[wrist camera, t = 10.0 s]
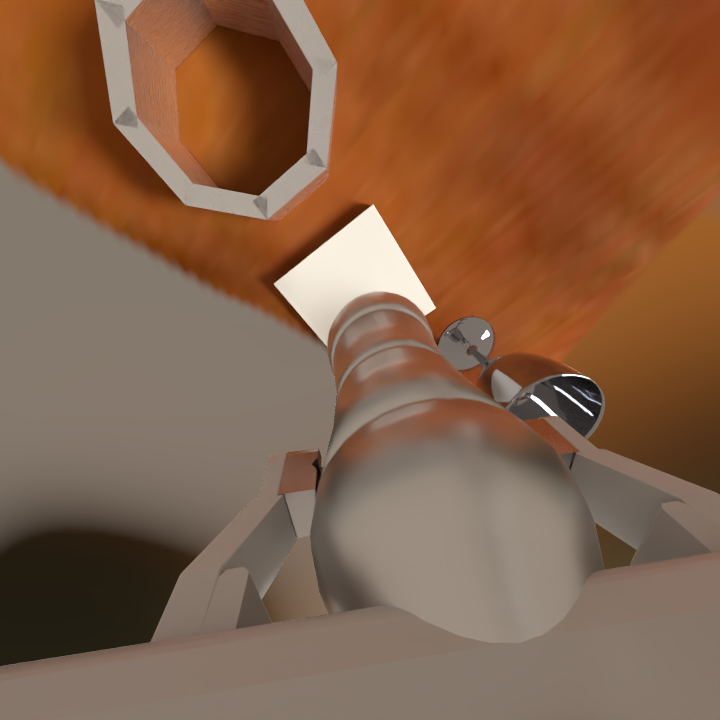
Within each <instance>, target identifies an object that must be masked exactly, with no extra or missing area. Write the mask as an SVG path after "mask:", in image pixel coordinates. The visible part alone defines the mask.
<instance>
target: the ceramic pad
mask: <svg viewBox="0 0 720 720" xmlns="http://www.w3.org/2000/svg"><path fill="white" fill-rule="evenodd" d="M274 285H275V286H276V287H277V289H278V290H279V291H280V292H281V293H282V294H283V296H284V297H285V298H286V299H287V300H288V302H289V303H290V304H291V305H292V306H293V307H294V309H295V310H296V311H297V312H298V313H299V314H300V316H301V317H302V318H303V319H304V320H305V322H306V323H307V324H308V325H309V326H310V327H311V329H312V330H313V331H314V332H315V333H316V334H317V336H318V337H319V338H320V339H321V340H322V341H323V343H324V344H325V345H326V346H327V341H328V335H329V331H330V328H331V326H332V323H333V321H334V320H335V318H336V317H337V315H338V313H339V312H340V311H341V309H342V308H343V307H344V306H345V305H346V304H347V303H348V302H350V301H351V300H353V299H354V298H355V297H357V296H360V295H362V294H364V293H369V292H373V291H385V292H390V293H394V294H399V295H401V296H403V297H405V298H407V299H409V300H410V301H411V302H413V303H414V304H416V305H417V307H418V308H419V309H420V310H421V311H422V312H423V314H424V316H425V315H426V314H428V313H429V312H431V311H432V310H434V309H435V308H436V307H435V306H434V304H433V302H432V301H431V299H430V297H429V296H428V294H427V292H426V291H425V289H424V287H423V286H422V284H421V282H420V281H419V279H418V277H417V276H416V274H415V272H414V271H413V269H412V268H411V266H410V264H409V263H408V261H407V259H406V258H405V256H404V254H403V253H402V251H401V249H400V248H399V246H398V244H397V243H396V241H395V239H394V238H393V236H392V234H391V233H390V231H389V229H388V228H387V226H386V224H385V223H384V221H383V220H382V218H381V216H380V215H379V213H378V211H377V210H376V208H375V206H374V205H371V206H370V207H369V208H367V209H366V210H365V211H364V212H362V213H361V214H360V215H359V216H357V217H356V218H355V219H354V220H352V221H351V222H350V223H349V224H347V225H346V226H345V227H344V228H342V229H341V230H340V231H339V232H337V233H336V234H335V235H334V236H332V237H331V238H330V239H329V240H327V241H326V242H325V243H324V244H322V245H321V246H320V247H319V248H317V249H316V250H315V251H314V252H312V253H311V254H310V255H309V256H307V257H306V258H305V259H304V260H302V261H301V262H300V263H299V264H297V265H296V266H295V267H294V268H292V269H291V270H290V271H289V272H287V273H286V274H285V275H284V276H282V277H281V278H280V279H279V280H277V281H276V282H275V283H274Z"/></svg>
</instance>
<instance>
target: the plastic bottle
mask: <svg viewBox="0 0 720 720" xmlns="http://www.w3.org/2000/svg"><path fill="white" fill-rule="evenodd" d="M327 347H328V356H329V360H330V364H331V368H332V372H333V374H334V376H335V383H336V390H337V396H336V406H335V415H334V425H333V430H332V434H331V438H330V441H329V445H328V450H327V454H326V457H325V462H324V465H323V469H322V474H321V478H320V481H319V484H318V489H317V494H316V499H315V505H314V512H313V518H312V524H311V530H310V538H311V551H312V556H313V562H314V567H315V572H316V577H317V583H318V588H319V593H320V595H321V597H322V600H323V603H324V605H325V608H326V610H327V612H328V614H332V613H338V612H345V611H351V610H357V609H363V608H370V607H376V606H390V607H396V608H400V609H403V610H406V611H408V612H410V613H412V614H414V615H416V616H417V617H419V618H420V619H422V620H424V621H426V622H428V623H430V624H433V625H435V626H437V627H440V628H442V629H444V630H447V631H449V632H451V633H454V634H456V635H458V636H462V637H466V638H471V639H475V640H480V641H484V642H488V643H521V642H524V641H526V640H529V639H531V638H535V637H538V636H541V635H543V634H545V633H546V632H547V631H549V630H550V629H551V628H553V627H554V626H555V625H557V624H558V623H559V622H561V621H562V620H563V619H564V618H565V616H566V615H567V613H568V612H569V610H570V609H571V608H572V606H573V605H574V603H575V602H576V600H577V599H578V597H579V596H580V593H581V590H582V588H583V585H584V583H585V582H586V580H587V579H588V578H589V577H590V576H591V575H592V573H594V572H595V571H600V570H605V569H604V565H603V560H602V555H601V550H600V546H599V541H598V537H597V532H596V527H595V522H594V519H593V517H592V514H591V512H590V509H589V507H588V504H587V502H586V500H585V498H584V496H583V495H582V493H581V491H580V489H579V487H578V485H577V483H576V481H575V479H574V477H573V475H572V473H571V471H570V469H569V467H568V465H567V463H566V462H565V461H564V460H563V459H562V457H561V456H560V455H559V454H558V453H557V451H556V450H555V449H554V448H553V447H552V446H551V445H550V444H549V443H548V442H546V441H545V440H544V439H543V438H542V437H541V436H540V435H538V434H537V433H536V432H535V431H534V430H533V429H532V428H531V427H530V426H529V425H528V424H526V423H525V422H523V421H522V420H521V419H519V418H518V417H517V416H515V415H514V414H513V413H511V412H510V411H509V410H507V409H506V408H505V407H503V406H502V405H501V404H499V403H498V402H497V401H495V400H494V399H493V398H491V397H490V396H489V395H487V394H486V393H485V392H483V391H482V390H481V389H479V388H478V387H477V386H475V385H474V384H473V383H471V382H470V381H469V380H467V379H466V378H465V377H464V376H463V375H462V374H461V373H460V372H459V371H458V370H457V369H456V368H455V367H454V366H453V365H452V364H451V363H450V362H449V361H448V360H447V359H446V358H445V357H444V356H443V355H442V353H441V351H440V350H439V348H438V346H437V344H436V343H435V341H434V338H433V335H432V331H431V328H430V326H429V324H428V322H427V320H426V318H425V316H424V314H423V312H422V311H421V310H420V309H419V308H418V307H417V305H416V304H414V303H413V302H411V301H410V300H409V299H407V298H405V297H403V296H401V295H399V294H394V293H390V292H385V291H373V292H369V293H364V294H362V295H360V296H357V297H355V298H354V299H353V300H351V301H350V302H348V303H347V304H346V305H345V306H344V307H343V308H342V309H341V311H340V312H339V313H338V315H337V317H336V318H335V320H334V321H333V323H332V326H331V328H330V331H329V335H328V341H327Z"/></svg>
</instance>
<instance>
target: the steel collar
mask: <svg viewBox="0 0 720 720" xmlns="http://www.w3.org/2000/svg"><path fill="white" fill-rule="evenodd" d="M95 7H96V13H97V20H98V27H99V33H100V40H101V46H102V53H103V60H104V66H105V73H106V80H107V86H108V93H109V99H110V106H111V113H112V119H113V124H114V125H115V126H116V127H117V128H118V129H119V130H120V132H121V133H122V134H123V135H124V136H125V137H126V138H127V140H128V141H129V142H130V143H131V144H132V145H133V146H134V147H135V149H136V150H137V151H138V152H139V153H140V154H141V155H142V157H143V158H144V159H145V160H146V161H147V162H148V163H149V164H150V166H151V167H152V168H153V169H154V170H155V171H156V172H157V174H158V175H159V176H160V177H161V178H162V179H163V180H164V181H165V183H166V184H167V185H168V186H169V187H170V188H171V189H172V191H173V192H174V193H175V194H176V195H177V196H178V197H179V198H180V200H181V201H182V202H183V203H184V204H185V205H187V206H193V207H198V208H204V209H210V210H215V211H221V212H226V213H232V214H237V215H243V216H249V217H254V218H260V219H265V220H277V221H280V220H281V219H282V218H284V217H285V216H286V215H287V214H288V213H289V212H291V211H292V210H293V209H294V208H295V207H296V206H298V205H299V204H300V203H301V202H302V201H304V200H305V199H306V198H307V197H308V196H309V195H311V194H312V193H313V192H314V191H315V190H317V189H318V188H319V187H320V186H321V185H322V184H324V183H325V182H326V181H327V180H328V174H329V164H330V154H331V145H332V135H333V125H334V116H335V106H336V89H337V62H336V60H335V58H334V56H333V54H332V52H331V51H330V49H329V47H328V45H327V43H326V41H325V40H324V38H323V36H322V34H321V32H320V30H319V28H318V27H317V25H316V23H315V21H314V19H313V17H312V16H311V14H310V12H309V10H308V8H307V6H306V5H305V3H304V1H303V0H95ZM217 25H220V26H223V27H227V28H231V29H235V30H238V31H242V32H246V33H249V34H253V35H257V36H260V37H264V38H268V39H272V40H275V41H279V42H280V43H281V45H282V46H283V48H284V50H285V51H286V53H287V55H288V56H289V58H290V60H291V61H292V63H293V65H294V66H295V68H296V70H297V71H298V73H299V75H300V76H301V78H302V80H303V81H304V83H305V85H306V86H307V88H308V90H309V91H310V93H311V102H310V116H309V129H308V143H307V154H306V155H305V156H303V157H302V158H301V159H300V160H299V161H298V162H297V163H296V164H294V165H293V166H292V167H291V168H290V169H289V170H288V171H286V172H285V173H284V174H283V175H282V176H281V177H280V178H279V179H277V180H276V181H275V182H274V183H273V184H272V185H271V186H270V187H268V188H267V189H266V190H265V191H264V192H263V193H262V194H260V195H259V196H256V195H251V194H246V193H241V192H235V191H230V190H225V189H220V188H218V186H217V185H216V184H215V183H214V182H213V180H212V179H211V178H210V177H209V175H208V174H207V173H206V172H205V170H204V169H203V168H202V167H201V166H200V164H199V163H198V162H197V161H196V159H195V158H194V157H193V156H192V154H191V153H190V152H189V151H188V150H187V148H186V147H185V146H184V145H183V143H182V142H181V141H180V128H179V115H178V102H177V88H176V75H175V70H176V69H177V67H178V66H179V65H180V64H181V63H182V62H183V61H184V60H185V59H186V58H187V57H188V56H189V55H190V54H191V52H192V51H193V50H194V49H195V48H196V47H197V46H198V45H199V44H200V43H201V42H202V41H203V40H204V39H205V37H206V36H207V35H208V34H209V33H210V32H211V31H212V30H213V29H214V28H215V27H216V26H217Z"/></svg>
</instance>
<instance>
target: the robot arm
mask: <svg viewBox="0 0 720 720" xmlns="http://www.w3.org/2000/svg"><path fill="white" fill-rule="evenodd" d="M522 421H523V422H525V423H526V424H528V425H529V426H530V427H531V428H532V429H533V430H534V431H535V432H536V433H537V434H538V435H540V436H541V437H542V438H543V439H544V440H545V441H546V442H548V443H549V444H550V445H551V446H552V447H553V448H554V449H555V450H556V451H557V453H558V454H559V455H560V456H561V457H562V459H563V460H564V461H565V462H566V463H567V465H568V467H569V469H570V471H571V473H572V475H573V477H574V479H575V481H576V483H577V485H578V487H579V489H580V491H581V493H582V495H583V496H584V498H585V500H586V502H587V504H588V507H589V509H590V512H591V514H592V517H593V519H594V522H595V523H597V524H598V525H600V526H601V527H603V528H604V529H606V530H607V531H609V532H610V533H612V534H614V535H615V536H616V537H618V538H620V539H621V540H623V541H624V542H626V543H627V544H629V545H630V546H632V547H633V548H635V549H636V550H637V552H636V554H635V556H634V558H633V560H632V562H631V566H625V567H619V568H613V569H607V570H600V571H595V572H594V573H592V575H591V576H590V577H589V578H588V579H587V580H586V582H585V583H584V585H583V588H582V590H581V593H580V596H579V597H578V599H577V600H576V602H575V603H574V605H573V606H572V608H571V609H570V610H569V612H568V613H567V615H566V616H565V618H564V619H563V620H562V621H561V622H559V623H558V624H557V625H555V626H554V627H553V628H551V629H550V630H549V631H547V632H546V633H545V634H543V635H541V636H538V637H535V638H531V639H529V640H526V641H524V642H521V643H488V642H484V641H480V640H475V639H471V638H466V637H462V636H458V635H456V634H454V633H451V632H449V631H447V630H444V629H442V628H440V627H437V626H435V625H433V624H430V623H428V622H426V621H424V620H422V619H420V618H419V617H417V616H416V615H414V614H412V613H410V612H408V611H406V610H403V609H400V608H396V607H390V606H376V607H370V608H363V609H357V610H351V611H345V612H338V613H332V614H326V615H320V616H313V617H307V618H301V619H295V620H288V621H282V622H276V623H272V622H271V620H270V618H269V615H268V613H267V611H266V609H265V606H264V605H263V602H262V598H263V596H264V594H265V593H266V591H267V590H268V588H269V586H270V585H271V583H272V581H273V580H274V578H275V576H276V574H277V573H278V571H279V569H280V568H281V566H282V564H283V563H284V561H285V559H286V558H287V556H288V554H289V553H290V551H291V549H292V548H293V546H294V544H295V543H296V541H297V539H296V538H301V537H306V536H310V530H311V524H312V518H313V512H314V505H315V499H316V494H317V489H318V484H319V481H320V478H321V474H322V469H323V467H321V461H322V457H321V453H320V450H319V449H312V450H303V451H295V452H288V453H279V454H272V455H271V456H270V458H269V461H268V464H267V468H266V471H265V475H264V479H263V482H262V486H261V490H260V494H259V497H258V498H257V499H253V500H252V501H251V502H250V503H249V504H248V505H247V506H246V507H245V508H244V509H243V510H242V511H241V512H240V513H239V514H238V515H237V516H236V517H235V518H234V519H233V520H232V521H231V522H230V524H229V525H228V526H227V527H226V528H225V529H224V530H223V531H222V532H221V533H220V534H219V535H218V536H217V537H216V538H215V539H214V540H213V541H212V542H211V543H210V544H209V545H208V546H207V547H206V549H204V551H203V552H202V553H201V554H200V555H199V556H198V557H197V558H196V559H195V560H194V561H193V562H192V563H191V564H190V565H189V566H188V567H187V568H186V569H185V570H184V571H183V572H182V573H181V574H180V576H179V579H178V581H177V583H176V585H175V588H174V590H173V592H172V595H171V597H170V599H169V601H168V604H167V606H166V608H165V611H164V613H163V615H162V617H161V620H160V622H159V624H158V627H157V629H156V631H155V633H154V636H153V638H152V640H151V643H145V644H138V645H132V646H126V647H120V648H113V649H107V650H101V651H95V652H88V653H82V654H75V655H69V656H63V657H56V658H50V659H44V660H38V661H31V662H25V663H19V664H12V665H6V666H0V720H720V495H719V494H718V493H715V492H713V491H710V490H707V489H705V488H702V487H700V486H697V485H695V484H692V483H690V482H687V481H684V480H682V479H679V478H677V477H674V476H672V475H669V474H666V473H664V472H661V471H659V470H656V469H654V468H651V467H649V466H646V465H643V464H641V463H638V462H636V461H633V460H631V459H628V458H625V457H623V456H620V455H618V454H615V453H613V452H610V451H607V450H605V449H597V448H596V447H595V446H593V445H592V444H591V443H590V442H589V441H588V440H586V439H585V438H584V437H583V436H582V435H580V434H579V433H578V432H577V431H576V430H574V429H573V428H572V427H571V426H570V425H568V424H567V423H566V422H565V421H564V420H562V419H561V418H560V417H558V416H555V415H554V416H547V417H541V418H536V419H529V420H522Z"/></svg>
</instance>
